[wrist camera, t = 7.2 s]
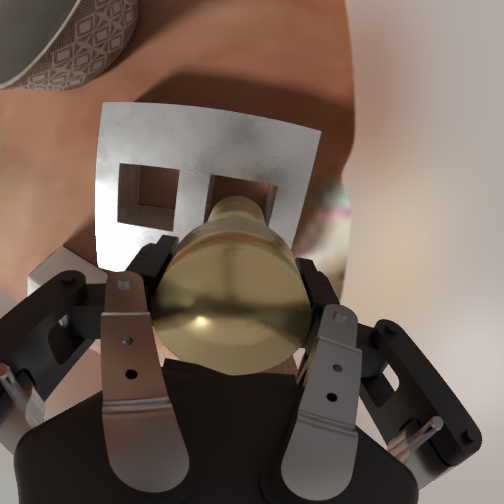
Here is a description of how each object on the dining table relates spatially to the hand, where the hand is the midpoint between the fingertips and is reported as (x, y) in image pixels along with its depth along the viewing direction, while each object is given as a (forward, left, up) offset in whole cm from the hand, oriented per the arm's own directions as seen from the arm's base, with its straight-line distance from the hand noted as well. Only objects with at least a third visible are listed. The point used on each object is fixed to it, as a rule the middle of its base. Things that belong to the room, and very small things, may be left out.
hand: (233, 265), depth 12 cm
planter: (-15, -19, -13) cm, 27 cm away
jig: (0, -4, -13) cm, 13 cm away
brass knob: (0, 0, -6) cm, 6 cm away
